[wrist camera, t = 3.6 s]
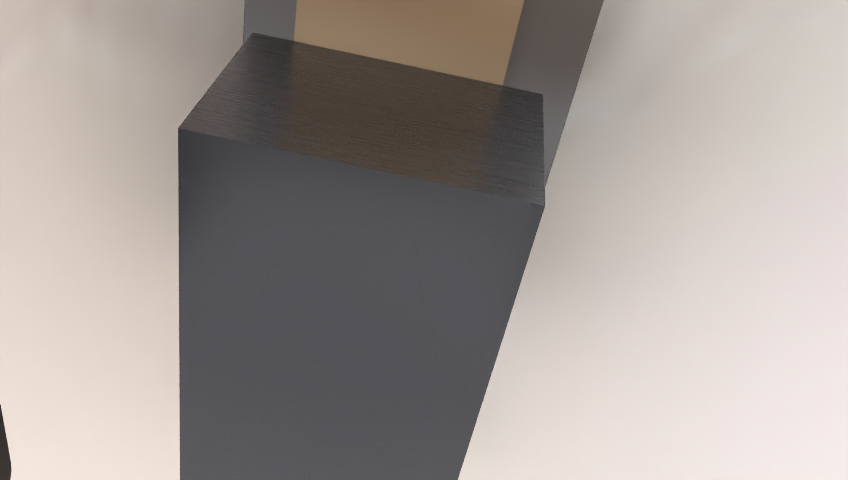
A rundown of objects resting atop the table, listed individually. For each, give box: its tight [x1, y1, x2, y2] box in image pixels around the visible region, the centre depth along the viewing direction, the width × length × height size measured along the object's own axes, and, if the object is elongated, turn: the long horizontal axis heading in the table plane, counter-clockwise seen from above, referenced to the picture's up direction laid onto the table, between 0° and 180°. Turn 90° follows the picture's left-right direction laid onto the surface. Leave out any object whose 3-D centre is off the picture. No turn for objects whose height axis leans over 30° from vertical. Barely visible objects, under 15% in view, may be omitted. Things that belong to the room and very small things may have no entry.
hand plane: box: [243, 0, 603, 185], centre depth 18 cm, size 23×7×8 cm, turn 170°
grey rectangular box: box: [178, 32, 545, 480], centre depth 15 cm, size 8×5×4 cm, turn 170°
